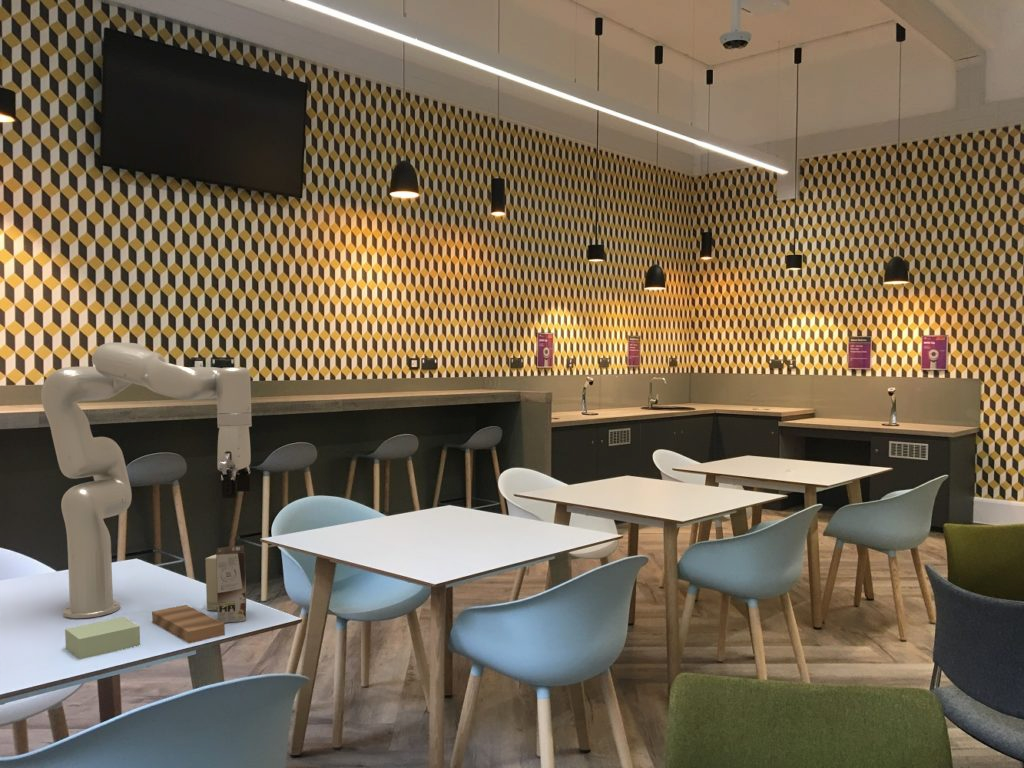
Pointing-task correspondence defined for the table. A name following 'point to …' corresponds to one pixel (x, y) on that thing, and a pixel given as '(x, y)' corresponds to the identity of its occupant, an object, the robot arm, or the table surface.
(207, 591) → the box
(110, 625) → the slab
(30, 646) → the table surface
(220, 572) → the coffee box
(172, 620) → the board
